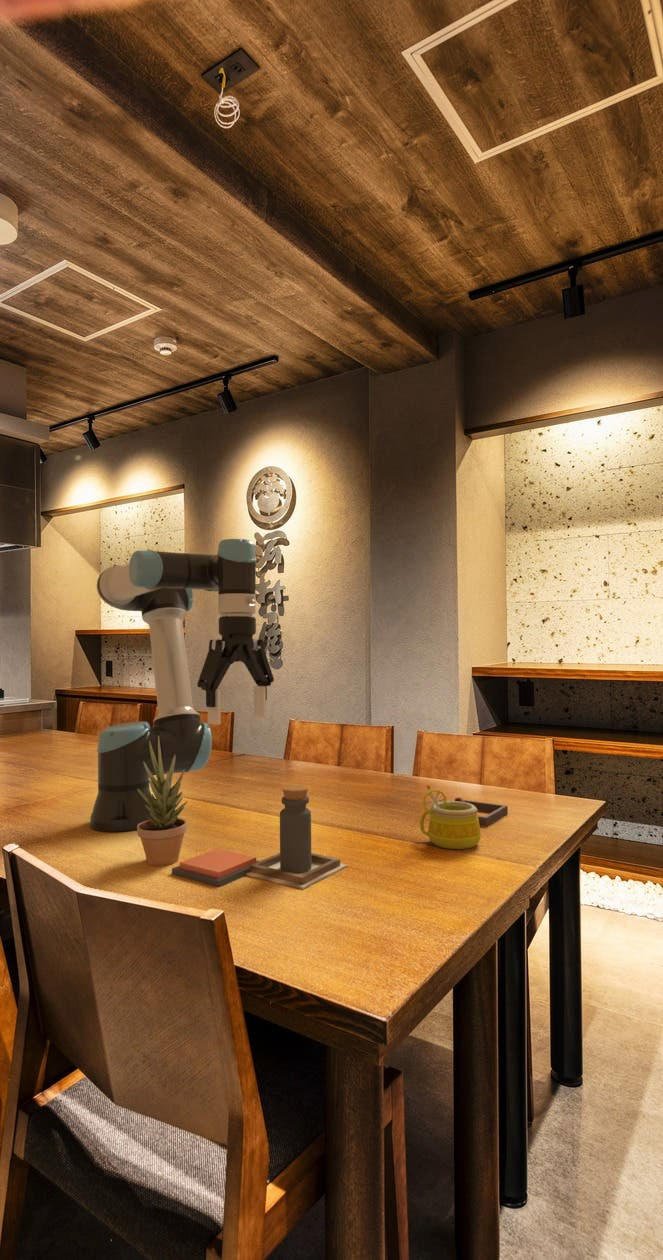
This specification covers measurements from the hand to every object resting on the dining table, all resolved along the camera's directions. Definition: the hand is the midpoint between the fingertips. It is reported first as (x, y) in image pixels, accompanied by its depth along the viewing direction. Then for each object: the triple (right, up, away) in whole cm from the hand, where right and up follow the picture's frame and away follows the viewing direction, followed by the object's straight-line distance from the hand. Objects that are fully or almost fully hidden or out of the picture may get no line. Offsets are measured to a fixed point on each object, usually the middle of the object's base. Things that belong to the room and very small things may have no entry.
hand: (237, 720), depth 137 cm
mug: (+44, -27, +5) cm, 52 cm away
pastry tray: (+53, -27, +27) cm, 65 cm away
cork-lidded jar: (+12, -26, -11) cm, 31 cm away
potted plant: (-14, -27, -5) cm, 31 cm away
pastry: (+50, -27, +26) cm, 62 cm away
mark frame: (+12, -26, -11) cm, 31 cm away
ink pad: (-2, -27, -11) cm, 29 cm away
